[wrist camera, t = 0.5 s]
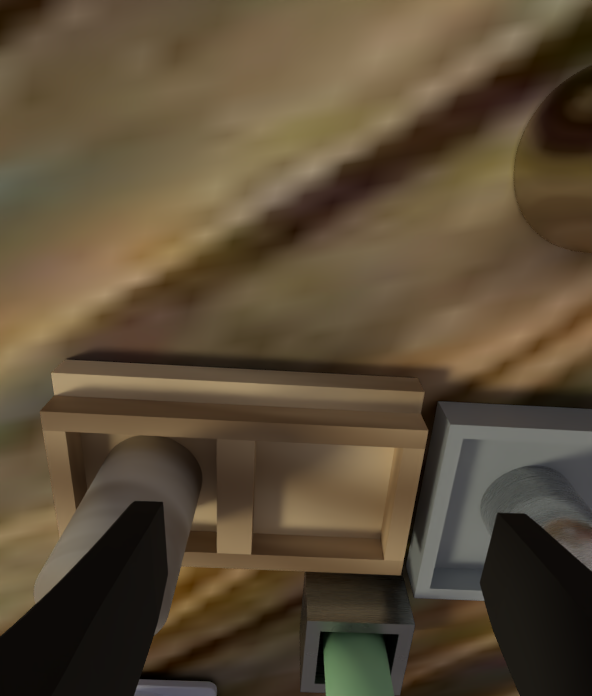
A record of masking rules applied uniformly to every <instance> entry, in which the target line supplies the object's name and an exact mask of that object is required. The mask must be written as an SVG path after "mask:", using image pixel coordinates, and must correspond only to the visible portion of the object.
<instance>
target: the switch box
mask: <svg viewBox="0 0 592 696" xmlns="http://www.w3.org/2000/svg"><path fill="white" fill-rule="evenodd" d="M414 628H415V623H414V619H413V615H412V611H411V607H410V603H409V599H408V595H407V591H406V587H405V583H404V578H403V574H402V572H401V575H380V574H356V573H331V572H307V571H305V578H304V589H303V600H302V611H301V622H300V692H317V693H326V688H325V671H324V654H323V637H322V631H324V632H351V633H377V634H383V636H384V641H385V647H386V652H387V658H388V664H389V669H390V675H391V680H392V686H393V691H394V695H400V692H401V688H402V683H403V678H404V674H405V669H406V665H407V660H408V655H409V651H410V646H411V642H412V637H413V632H414Z"/></svg>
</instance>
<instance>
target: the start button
mask: <svg viewBox="0 0 592 696" xmlns="http://www.w3.org/2000/svg"><path fill="white" fill-rule="evenodd" d="M322 637H323V654H324V671H325V688H326V696H394V691H393V686H392V680H391V675H390V669H389V664H388V658H387V652H386V647H385V641H384V636H383V634H377V633H351V632H324V631H322Z"/></svg>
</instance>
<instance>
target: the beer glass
mask: <svg viewBox="0 0 592 696" xmlns="http://www.w3.org/2000/svg"><path fill="white" fill-rule="evenodd" d="M513 179H514V190H515V196H516V200H517V203H518V206H519V208H520V211H521V213H522V215H523V216H524V218H525V220H526V221H527V223H528V224H529V225H530V226H531V228H532V229H533V230H534V231H535V232H536V233H537V234H538V235H539V236H541V237H542V238H543V239H545V240H546V241H548V242H550V243H551V244H553V245H556V246H558V247H561V248H564V249H567V250H571V251H576V252H583V253H592V65H591V66H589V67H587V68H585V69H583V70H581V71H579V72H577V73H576V74H574V75H572V76H571V77H569V78H568V79H566V80H565V81H564V82H562V83H561V84H560V85H559V86H558V87H556V88H555V89H554V90H553V91H552V92H551V93H550V94H549V95H548V96H547V97H546V98H545V100H544V101H543V102H542V103H541V104H540V106H539V107H538V108H537V110H536V111H535V113H534V114H533V116H532V117H531V119H530V120H529V122H528V124H527V126H526V128H525V130H524V132H523V134H522V137H521V139H520V142H519V145H518V148H517V152H516V157H515V162H514V173H513Z"/></svg>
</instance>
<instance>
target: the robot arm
mask: <svg viewBox="0 0 592 696" xmlns="http://www.w3.org/2000/svg"><path fill="white" fill-rule="evenodd" d="M167 577H168V564H167V549H166V535H165V521H164V507H163V502H157V501H134V502H133V503H131V504H130V505H129V506H128V507H127V509H126V510H125V511H124V512H123V513H122V514H121V515H120V517H119V518H118V519H117V520H116V521H115V522H114V523H113V524H112V526H111V527H110V528H109V529H108V530H107V531H106V532H105V533H104V535H103V536H102V537H101V538H100V539H99V540H98V541H97V542H96V543H95V544H94V546H93V547H92V548H91V549H90V550H89V551H88V552H87V553H86V554H85V555H84V556H83V557H82V558H81V559H80V560H79V561H78V563H77V564H76V565H75V566H74V567H73V568H72V569H71V570H70V571H69V572H68V573H67V574H66V575H65V576H64V577H63V578H62V579H61V580H60V581H59V582H58V583H57V584H56V585H55V586H54V587H53V588H52V589H51V590H50V591H49V592H48V593H47V594H46V595H45V596H44V597H43V598H42V599H40V600H39V601H38V602H37V603H36V604H35V605H34V606H33V607H32V608H31V609H30V610H29V611H28V612H27V613H26V614H25V615H24V616H23V617H22V618H20V619H19V620H18V621H17V622H16V623H15V624H14V625H13V626H12V627H10V628H9V629H8V630H7V631H6V632H5V633H4V634H3V635H1V636H0V696H217V687H216V685H215V684H214V683H212V682H208V681H180V680H151V679H140V676H141V673H142V670H143V667H144V664H145V661H146V658H147V655H148V652H149V649H150V645H151V642H152V639H153V636H154V633H155V630H156V627H157V624H158V620H159V615H160V611H161V606H162V602H163V597H164V592H165V587H166V582H167ZM480 586H481V590H482V594H483V597H484V601H485V605H486V608H487V612H488V615H489V618H490V622H491V625H492V628H493V632H494V634H495V637H496V639H497V642H498V644H499V647H500V649H501V651H502V654H503V656H504V659H505V661H506V663H507V666H508V668H509V671H510V673H511V676H512V678H513V680H514V683H515V685H516V687H517V690H518V692H519V694H520V696H592V571H591V570H590V569H589V568H587V567H586V566H585V565H584V564H583V563H582V562H580V561H579V560H578V559H577V558H576V557H575V556H574V555H573V554H571V553H570V552H569V551H568V550H567V549H566V548H565V547H564V546H562V545H561V544H560V543H559V542H558V541H557V540H556V539H554V538H553V537H552V536H551V535H550V534H549V533H548V532H547V531H545V530H544V529H543V528H542V527H541V526H540V525H538V524H537V523H536V522H535V521H534V520H533V519H531V518H530V517H529V516H528V515H526V514H525V513H497V516H496V520H495V524H494V528H493V532H492V536H491V540H490V544H489V548H488V551H487V555H486V559H485V563H484V567H483V571H482V575H481V579H480Z"/></svg>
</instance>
